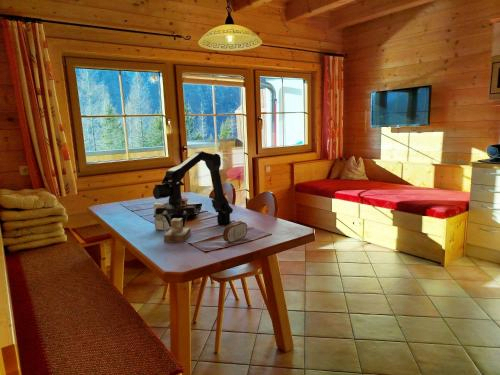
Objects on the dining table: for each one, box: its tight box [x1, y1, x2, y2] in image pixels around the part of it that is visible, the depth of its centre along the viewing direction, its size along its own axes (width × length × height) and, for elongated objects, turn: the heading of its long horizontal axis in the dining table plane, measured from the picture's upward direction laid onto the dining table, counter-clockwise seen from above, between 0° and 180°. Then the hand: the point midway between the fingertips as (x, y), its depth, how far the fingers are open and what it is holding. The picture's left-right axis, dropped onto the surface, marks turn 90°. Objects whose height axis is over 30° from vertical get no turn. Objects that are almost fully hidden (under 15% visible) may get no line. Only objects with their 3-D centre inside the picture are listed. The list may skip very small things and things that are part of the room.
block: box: [170, 217, 184, 233], centre depth 167 cm, size 4×4×6 cm
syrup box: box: [153, 201, 171, 231], centre depth 182 cm, size 6×6×14 cm
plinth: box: [163, 227, 192, 243], centre depth 167 cm, size 10×12×3 cm
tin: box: [222, 220, 248, 244], centre depth 162 cm, size 15×3×8 cm, turn 141°
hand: (177, 226), depth 167 cm, fingers open, 6 cm apart
